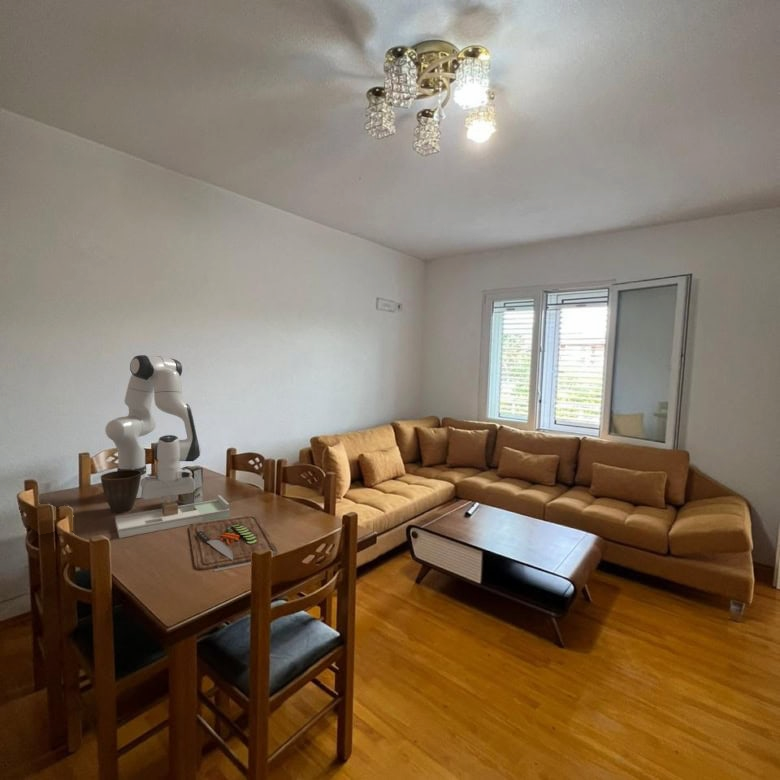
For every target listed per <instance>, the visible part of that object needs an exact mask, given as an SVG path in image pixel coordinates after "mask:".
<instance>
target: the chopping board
mask: <svg viewBox="0 0 780 780" xmlns="http://www.w3.org/2000/svg"><path fill="white" fill-rule="evenodd" d="M188 526H189V527H188V531H189V537H190V539H189V540H190V545H191V551H192V557H193V564H194V567H195V569H197V570H198V571H205V570H211V569H214V571H213V572H215V573H216V572H219V571H223V570H224V571H225V570H230V569H235V568H241V567H245V566H251V562H252V561H251V553H252V552H255V551H265V550H272V551H273V555H275V556H277V555H278V553H279V551H278V548H277V546H276V545H275V543H274V541H273V539H272V537H270V534H269V533H268V531H267V529H266V527H265V526H264V525H263V522H262V520H261V519H260V518H259V517H258V516H256V515H245V516H243V515H239V516H238V515H237V516H231V517H227V518H222V519H215V520H208V521H202V522H201V523H196V524H190V525H188ZM276 554H277V555H276ZM226 566H227V567H226Z"/></svg>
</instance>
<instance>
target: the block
mask: <svg viewBox="0 0 780 780" xmlns="http://www.w3.org/2000/svg"><path fill="white" fill-rule="evenodd" d="M161 503H162V502H161ZM178 506H179V503H178V501H176V500H174V501H173V502H167V503H165V502H163V503H162V505H161V507H162V508H161V509H162V513H163V514H164V516H169V515H175V514H178Z"/></svg>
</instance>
